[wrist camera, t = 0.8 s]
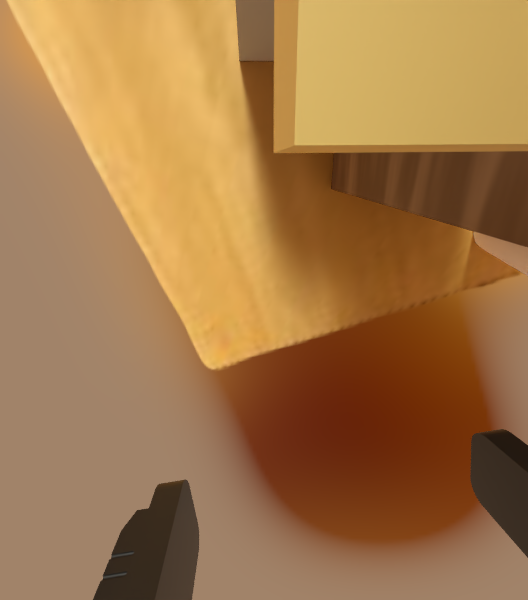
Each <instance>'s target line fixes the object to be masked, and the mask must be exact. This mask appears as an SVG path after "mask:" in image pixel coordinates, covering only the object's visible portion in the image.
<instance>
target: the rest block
mask: <svg viewBox="0 0 528 600" xmlns="http://www.w3.org/2000/svg"><path fill="white" fill-rule="evenodd" d="M236 13H237V29H238V45H239V61H274V0H236Z"/></svg>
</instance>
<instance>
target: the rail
mask: <svg viewBox="0 0 528 600" xmlns="http://www.w3.org/2000/svg"><path fill="white" fill-rule="evenodd" d="M494 151H528V0H274V153H363V152H494Z"/></svg>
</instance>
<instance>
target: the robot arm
mask: <svg viewBox="0 0 528 600" xmlns="http://www.w3.org/2000/svg"><path fill="white" fill-rule="evenodd" d="M471 443H472V444H471V445H472V446H471V483H472V487H473V490H474V492H475V495H476V496H477V498H478V500H479V501H480V503H481V504H482V505H483V507H484V508H485V509H486V510H487V511H488V512H489V513H490V515H491V516H492V517H493V518H494V519H495V521H496V522H497V523H498V524H499V525H500V526H501V527H502V529H503V530H504V531H505V532H506V533H507V534H508V535H509V537H510V538H511V539H512V540H513V541H514V542H515V543H516V545H517V546H518V547H519V548H520V549H521V550H522V552H523V553H524V554H525V555H526V556H527V557H528V445H526V444H525V443H524V442H523V441H521V440H520V439H519V438H517V437H516V436H514V435H513V434H512V433H510V432H509V431H507V430H504V429H500V430H493V431H488V432H481V433H476V434H474V435H473V436H472V442H471ZM198 551H199V528H198V522H197V518H196V513H195V509H194V504H193V500H192V495H191V491H190V486H189V483H188V481H187V480H181V481H175V482H168V483H162V484H159V485H158V486H157V487H156V489H155V492H154V495H153V498H152V501H151V504H150V507H149V508H148V509H142V510H137V511H136V512H135V514H134V515H133V516H132V518H131V519H130V520H129V522H128V523H127V524H126V525H125V527H124V528H123V529H122V531H121V533H120V535H119V538H118V540H117V543H116V545H115V547H114V550H113V552H112V557H111V559H110V560H109V562H108V564H107V567H106V569H105V572H104V574H103V580H102V581H101V582H100V584H99V586H98V589H97V591H96V594H95V596H94V599H93V600H192V594H193V587H194V579H195V573H196V565H197V559H198Z"/></svg>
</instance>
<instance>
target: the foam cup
mask: <svg viewBox="0 0 528 600" xmlns="http://www.w3.org/2000/svg"><path fill="white" fill-rule="evenodd" d="M473 235H474V239H475V243H476V244H477V245H478V246H480V247H481V248H482V249H484V250H485V251H487V252H488V253H490V254H492V255H493V256H495V257H497V258H498V259H500V260H502V261H503V262H505V263H507V264H508V265H510V266H512V267H513V268H515V269H517V270H518V271H520V272H522V273H523V274H525V275H527V276H528V247H524V246H521V245H518V244H514V243H511V242H508V241H504V240H501V239H498V238H494V237H491V236H487V235H484V234H481V233H477V232H474V233H473Z"/></svg>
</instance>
